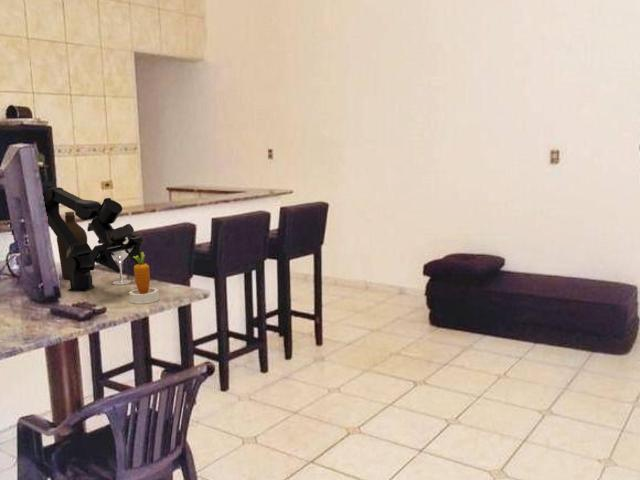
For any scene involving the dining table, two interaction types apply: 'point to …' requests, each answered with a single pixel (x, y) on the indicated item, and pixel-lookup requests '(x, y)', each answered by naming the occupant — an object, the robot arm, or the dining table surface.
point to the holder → (144, 296)
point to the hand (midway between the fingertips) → (130, 269)
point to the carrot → (142, 275)
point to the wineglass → (119, 258)
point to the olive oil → (79, 235)
